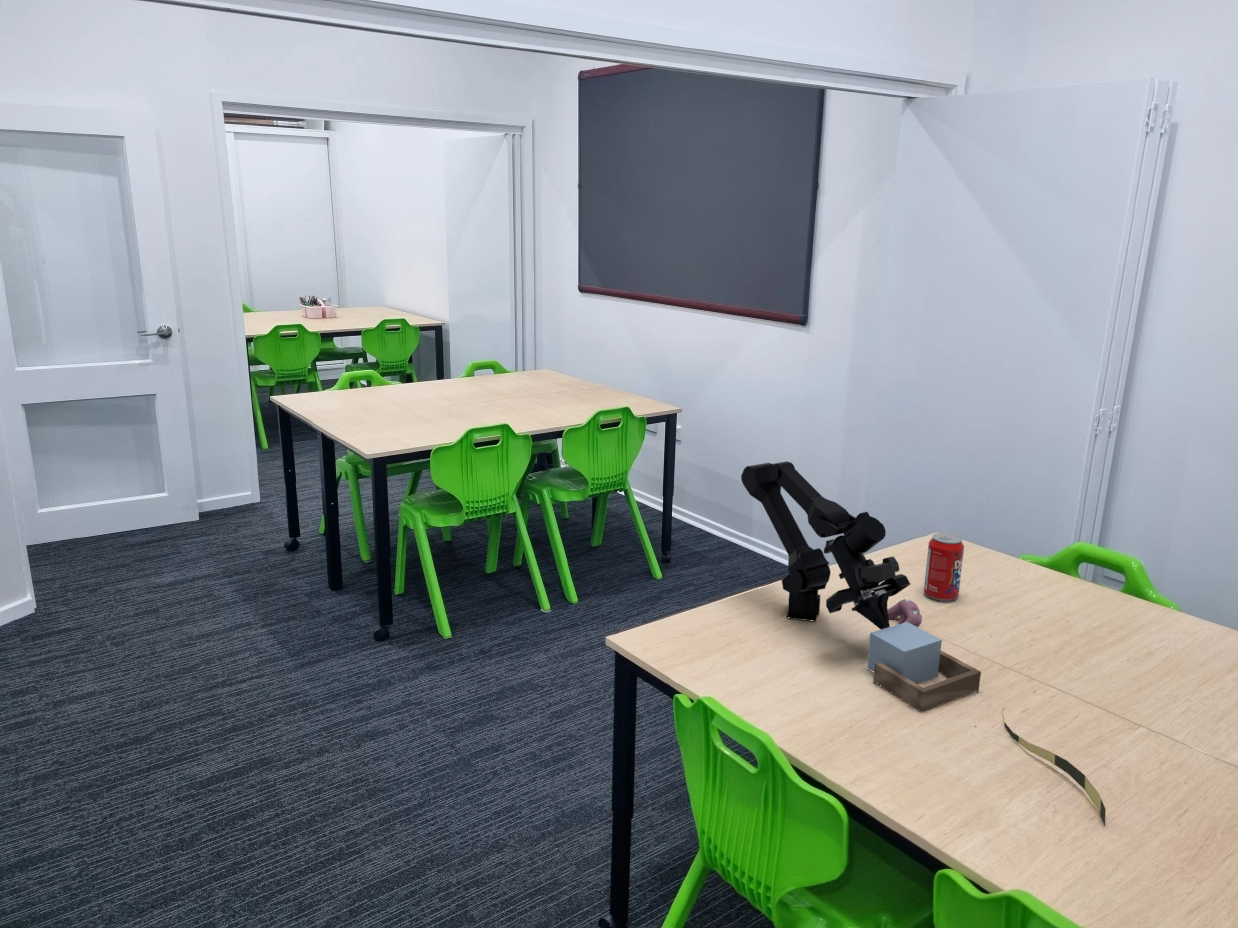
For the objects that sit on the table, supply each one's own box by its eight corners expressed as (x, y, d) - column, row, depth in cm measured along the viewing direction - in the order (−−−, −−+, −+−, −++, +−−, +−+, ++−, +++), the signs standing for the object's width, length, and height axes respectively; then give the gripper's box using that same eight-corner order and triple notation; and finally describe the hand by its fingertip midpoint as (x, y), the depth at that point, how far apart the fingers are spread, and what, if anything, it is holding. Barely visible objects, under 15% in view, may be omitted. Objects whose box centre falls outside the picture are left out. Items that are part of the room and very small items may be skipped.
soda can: (916, 591, 213) (922, 533, 209) (944, 587, 216) (950, 529, 212) (936, 604, 206) (943, 544, 202) (965, 600, 209) (972, 541, 204)
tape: (1069, 829, 133) (1071, 808, 132) (981, 695, 169) (982, 677, 168) (1110, 829, 132) (1113, 808, 131) (1013, 695, 169) (1014, 677, 168)
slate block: (867, 668, 178) (870, 632, 176) (903, 657, 182) (907, 621, 180) (900, 689, 170) (904, 651, 168) (937, 676, 175) (941, 639, 173)
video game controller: (912, 644, 191) (929, 617, 189) (893, 635, 191) (911, 608, 189) (898, 623, 201) (915, 598, 199) (881, 615, 200) (897, 589, 198)
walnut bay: (873, 681, 173) (874, 663, 172) (929, 662, 180) (930, 644, 179) (921, 711, 163) (923, 692, 161) (978, 690, 170) (981, 671, 169)
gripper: (839, 553, 174) (876, 626, 168) (907, 537, 183) (945, 606, 176) (810, 577, 183) (844, 647, 176) (876, 560, 191) (911, 626, 185)
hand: (887, 631), depth 178 cm, fingers closed, pressing on slate block
